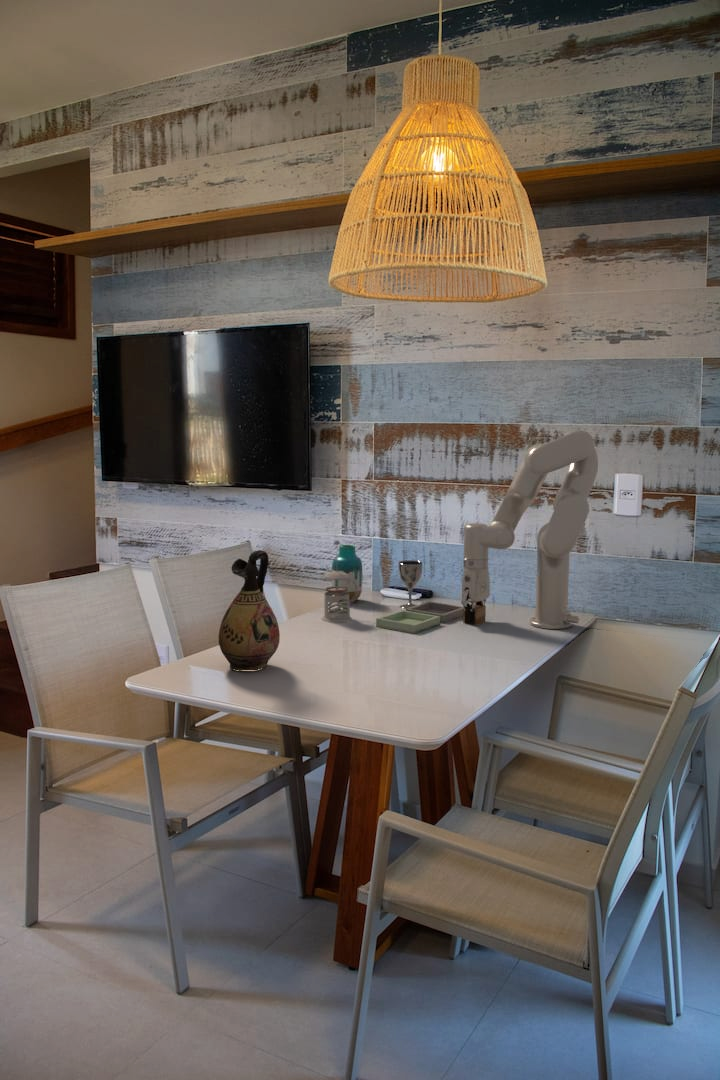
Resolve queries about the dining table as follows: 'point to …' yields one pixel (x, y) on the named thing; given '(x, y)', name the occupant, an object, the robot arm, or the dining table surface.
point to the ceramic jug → (249, 619)
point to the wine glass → (410, 577)
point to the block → (477, 614)
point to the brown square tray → (439, 610)
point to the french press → (337, 598)
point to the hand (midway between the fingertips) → (474, 620)
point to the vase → (348, 570)
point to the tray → (408, 621)
